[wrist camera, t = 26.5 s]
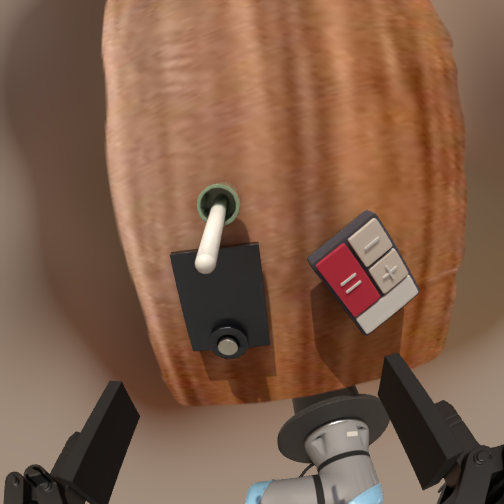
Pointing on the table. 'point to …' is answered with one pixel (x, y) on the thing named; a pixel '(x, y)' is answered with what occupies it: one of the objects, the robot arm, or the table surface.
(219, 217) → the stylus
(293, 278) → the table surface
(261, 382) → the table surface
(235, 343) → the button
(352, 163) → the table surface
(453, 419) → the robot arm
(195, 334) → the tablet
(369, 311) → the calculator
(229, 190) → the pen cup
